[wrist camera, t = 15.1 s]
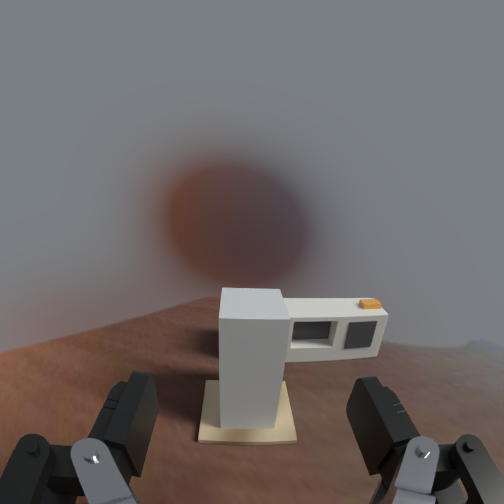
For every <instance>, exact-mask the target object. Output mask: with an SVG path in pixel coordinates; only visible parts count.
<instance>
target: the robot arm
mask: <svg viewBox="0 0 504 504" xmlns="http://www.w3.org/2000/svg"><path fill="white" fill-rule="evenodd" d="M346 412H347V417H348V420H349V422H350V425H351V427H352V430H353V433H354V435H355V438H356V440H357V443H358V445H359V448H360V451H361V453H362V456H363V458H364V461H365V464H366V466H367V469H368V472H369V474H370V476H371V475H375V474H379V473H380V475H381V477H382V478H381V479H380V481H379V482H378V485H377V487H376V489H375V492H374V494H373V496H372V498H371V500H370V502H369V504H504V480H503V478H502V476H501V474H500V472H499V471H498V469H497V467H496V465H495V464H494V462H493V460H492V459H491V457H490V455H489V453H488V452H487V450H486V449H485V447H484V445H483V444H482V442H481V441H480V439H479V438H477V437H476V436H474V435H470V434H466V435H463V436H461V437H460V438H459V439H458V440H457V441H456V442H455V444H444V445H437V443H436V442H435V441H434V440H432V439H431V438H428V437H424V436H420V434H419V433H418V431H417V429H416V428H415V426H414V424H413V422H412V421H411V419H410V417H409V416H408V414H407V412H406V411H404V407H403V406H402V404H400V401H399V399H398V398H397V396H396V394H395V393H394V392H392V391H391V390H390V389H389V388H387V387H382V385H381V384H380V382H379V380H378V379H377V377H365V378H358V379H357V380H356V382H355V385H354V387H353V390H352V393H351V395H350V398H349V400H348V403H347V408H346ZM157 414H158V397H157V392H156V386H155V381H154V376H153V374H151V373H145V372H138V371H133V372H132V374H131V376H130V379H129V381H128V382H122V381H120V382H119V383H118V384H117V385H115V386H114V387H113V388H112V389H111V391H110V393H109V395H108V397H107V400H106V401H105V403H104V405H103V408H102V409H101V411H100V413H99V415H98V417H97V419H96V422H95V424H94V426H93V428H92V430H91V432H90V434H89V436H88V438H85V439H81V440H79V441H78V442H76V443H75V444H74V445H73V446H60V445H49V443H48V442H47V440H46V439H45V438H44V437H42V436H40V435H38V434H28V435H25V436H23V437H22V438H21V439H20V440H19V442H18V443H17V445H16V447H15V449H14V451H13V453H12V455H11V457H10V459H9V461H8V463H7V466H6V468H5V470H4V472H3V474H2V476H1V479H0V504H75V501H76V498H77V496H86V498H87V500H88V502H89V504H140V502H139V501H138V499H137V497H136V496H135V494H134V492H133V491H132V489H131V487H130V485H129V482H130V479H131V476H136V477H141V473H142V469H143V465H144V461H145V457H146V453H147V450H148V446H149V442H150V439H151V435H152V431H153V428H154V424H155V421H156V417H157ZM459 478H460V479H461V481H462V483H463V485H464V487H465V489H466V491H467V493H468V500H466V498H465V496H464V494H463V492H462V489H461V487H460V485H459V483H458V481H457V480H458V479H459Z"/></svg>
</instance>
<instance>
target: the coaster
mask: <svg viewBox="0 0 504 504" xmlns="http://www.w3.org/2000/svg"><path fill="white" fill-rule="evenodd" d="M198 442H199V443H207V444H225V445H277V444H294V443H297V437H296V432H295V427H294V422H293V417H292V413H291V408H290V403H289V398H288V393H287V389H286V384H285V381H282V385H281V392H280V398H279V404H278V410H277V416H276V422H275V428H274V429H221V424H220V386H219V380H206V385H205V393H204V400H203V407H202V414H201V422H200V429H199V437H198Z"/></svg>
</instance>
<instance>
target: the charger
mask: <svg viewBox="0 0 504 504" xmlns="http://www.w3.org/2000/svg"><path fill="white" fill-rule="evenodd" d="M290 320H291V319H290V316H289V314H288V311H287V308H286V305H285V303H284V300H283V297H282V294H281V292H280V289H248V288H222V296H221V304H220V313H219V386H220V424H221V429H274V428H275V422H276V416H277V410H278V404H279V398H280V392H281V385H282V379H283V372H284V365H285V358H286V351H287V344H288V336H289V328H290Z"/></svg>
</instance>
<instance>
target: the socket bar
mask: <svg viewBox="0 0 504 504" xmlns="http://www.w3.org/2000/svg"><path fill="white" fill-rule="evenodd" d="M283 300H284V303H285V305H286V308H287V311H288V314H289V316H290V319H291V320H290V328H289V336H288V344H287V351H286V358H285V362H313V361H331V360H345V359H357V358H368V357H377V354H378V351H379V348H380V344H381V341H382V338H383V334H384V331H385V327H386V323H387V319H388V316H389V315H388V314H387V313H386V312H385V311H384V309H382V307H381V305H382V304H381V303H380V302H379V301H378V300H377V299H373V298H331V299H330V298H309V299H308V298H283Z"/></svg>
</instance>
